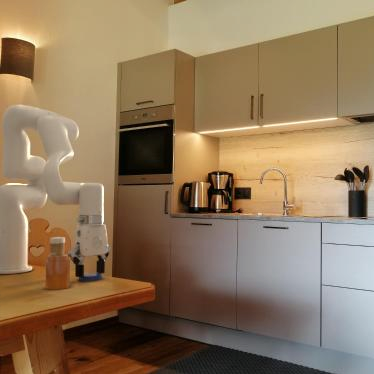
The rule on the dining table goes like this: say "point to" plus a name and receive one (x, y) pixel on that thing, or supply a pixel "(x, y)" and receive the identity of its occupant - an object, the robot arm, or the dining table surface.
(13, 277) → the dining table surface
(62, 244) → the sprinkles bottle
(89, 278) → the lid
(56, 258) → the jar
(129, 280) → the dining table surface
